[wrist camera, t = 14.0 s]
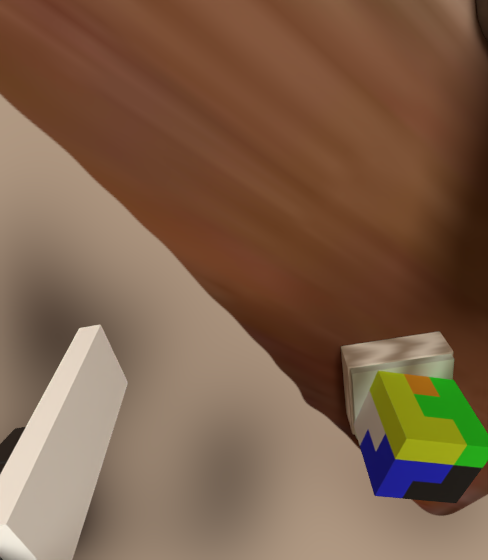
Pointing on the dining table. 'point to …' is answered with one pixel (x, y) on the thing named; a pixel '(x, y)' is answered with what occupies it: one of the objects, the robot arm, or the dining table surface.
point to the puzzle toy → (420, 438)
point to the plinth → (392, 364)
